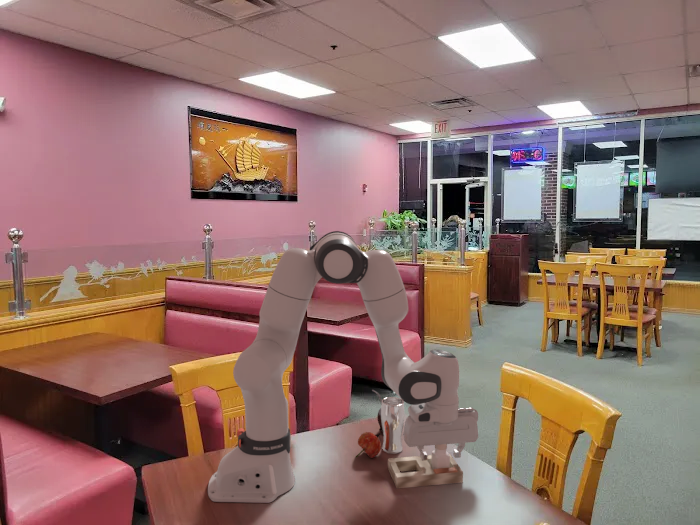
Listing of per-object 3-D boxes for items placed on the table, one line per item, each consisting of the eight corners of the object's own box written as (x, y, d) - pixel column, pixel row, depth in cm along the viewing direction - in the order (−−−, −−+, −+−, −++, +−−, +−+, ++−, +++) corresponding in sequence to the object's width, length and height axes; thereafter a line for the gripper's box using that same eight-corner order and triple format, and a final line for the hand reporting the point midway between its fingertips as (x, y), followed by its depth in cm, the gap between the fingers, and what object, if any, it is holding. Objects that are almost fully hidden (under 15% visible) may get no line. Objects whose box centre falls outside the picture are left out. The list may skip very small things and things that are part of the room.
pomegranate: (364, 471, 147) (391, 448, 148) (348, 451, 146) (375, 429, 147) (360, 461, 154) (386, 439, 155) (345, 442, 154) (371, 420, 155)
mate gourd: (402, 430, 168) (403, 386, 166) (392, 440, 161) (392, 394, 159) (382, 425, 172) (382, 382, 170) (370, 434, 165) (371, 389, 163)
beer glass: (402, 455, 151) (403, 406, 149) (379, 453, 153) (379, 404, 151) (404, 444, 158) (405, 397, 156) (382, 442, 159) (382, 395, 158)
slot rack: (396, 488, 134) (397, 476, 134) (387, 468, 144) (387, 457, 144) (462, 482, 137) (463, 470, 137) (449, 463, 147) (449, 452, 146)
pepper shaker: (430, 471, 142) (431, 438, 141) (443, 469, 144) (444, 437, 142) (436, 479, 139) (437, 445, 137) (450, 477, 140) (451, 443, 139)
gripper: (473, 402, 144) (472, 449, 145) (402, 407, 140) (401, 455, 142) (483, 411, 138) (481, 460, 139) (408, 416, 134) (407, 467, 136)
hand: (440, 458), depth 141 cm, fingers open, 8 cm apart
